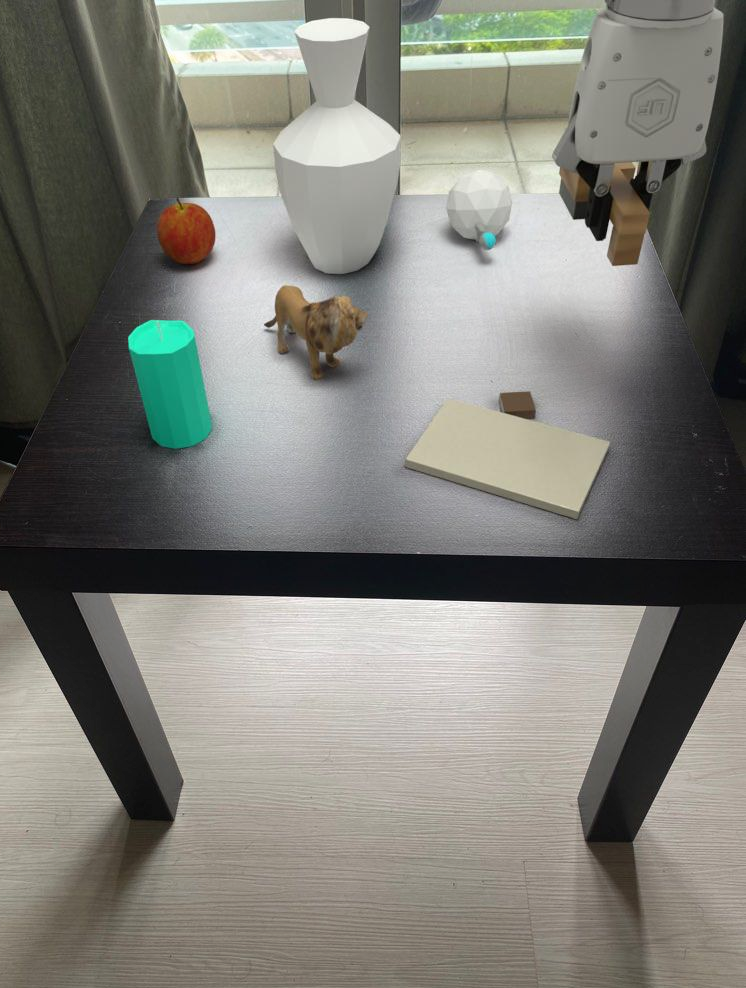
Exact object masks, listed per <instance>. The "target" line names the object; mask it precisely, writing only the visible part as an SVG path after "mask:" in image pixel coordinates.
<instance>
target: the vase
mask: <svg viewBox="0 0 746 988" xmlns="http://www.w3.org/2000/svg"><path fill="white" fill-rule="evenodd" d="M369 32H370V25H368V24H367V23H366V22H365V21H362V20H358V19H354V18H348V17H347V18H346V17H345V18H344V17H342V18H341V17H328V18H322V19H316V20H311V21H307V22H306V23H303V24H300V25H298V27H296V29H295V30H294V35H295V38H296V41H297V44H298V47H299V51H300V54H301V57H302V61H303V63H304V67H305V70H306V73H307V76H308V80H309V82H310V85H311V89H312V93H313V95H314V98H315V101H314V102H313V103H312V104H311V105H310V106H309V107H307V108H306V109H305V110H304V111H303V112H302V113H301V114H299V115H298V116H296V118H295V119H293V120H292V121H291V122H290V123H289V124H288V125H286V126H285V127H284V128H283V129H282V130H281V131H280V132H279V134H278V135H277V137H276V138H275V140H274V142H273V143H272V148H273V159H274V169H275V175H276V179H277V180H276V181H277V185H278V189H279V194H280V196H281V199H282V202H283V204H284V207H285V209H286V212H287V215H288V218H289V219H290V222H291V225H292V228H293V230H294V233H295V234H296V237H297V238H298V240H299V242H300V244H301V245H302V247H303V249H304V251H305V253H306V254H307V256H308V258H309V260H310V262H311V264H312V265H313V268H314V269H315V270H317V271H320V272H322V273H325V274H328V275H329V274H331V275H345V274H349V273H354V272H358V271H359V270H361V269H362V268H364V267H365V266H367V265H368V264H370V262H371V260H372V259H373V257H374V256H375V254H376V253H377V251H378V248H379V246H380V245H381V241H382V238H383V235H384V232H385V229H386V227H387V224H388V220H389V216H390V213H391V209H392V205H393V202H394V198H395V194H396V191H397V187H398V183H399V178H400V177H399V176H400V169H401V161H402V160H401V156H402V155H401V151H402V150H401V149H402V147H401V146H402V145H401V144H402V136H401V134H399V132H398V131H397V130H396V129H395V128H394V127H393V126H392V125H391V124H390V123H388V121H386V120H384V119H383V118H382V117H380V116H378V115H377V114H375V113H374V112H373V111H371V110H370V109H369V108H367V107H365V106H364V105H363V104H361V103H360V102H359V101H357V100H355V97H356V92H357V86H358V82H359V78H360V73H361V69H362V64H363V60H364V55H365V50H366V46H367V41H368V37H369Z"/></svg>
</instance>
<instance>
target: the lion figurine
mask: <svg viewBox="0 0 746 988" xmlns="http://www.w3.org/2000/svg"><path fill="white" fill-rule="evenodd" d="M274 313H275V316H274V317H273V318H272V319H271V320H268V321H267V322H265V323H263V326H264V327H266V328H267V329H270V328H272V327H274V326H275V325H276V324H277V352H278V353H280V354H285V353H287V352H289V350H290V349H289V346H288V344H287V342H286V337H285V336H286V334H285V329H286V330H287V331H288V333H291V334H293V333H295V334H296V335H297V336H298V337H299V338H300V339H301V340H302V341H305V344H306V349H307V353H308V359H309V364H310V376H311V378H312V379H313V380H320V379H322V378H323V377H324V373H323V369H322V366H321V364H320V353H324V354H325V363H326V365H328V366H329V367H331V368H337V367H339V365H340V364H341V362H340V359H339V358H338V357H337V358H336V357H334V354H336V353H338V352H339V351H341V350H342V349H343V348H346V347H348V346H349V347H350V345H351V344H353V343H354V341H355V339H356V337H357V335H358V332H361V331H362V330H363V326H364V325H365V324H366V322H367V317H368V313H367V312H366V311H364V310H361V309H358V308H357V307H356V306H355V304H352V300H351V297H349V296H345V295H339V296H336V295H334V296H333V297H332V296H331V297H330V298H327V299H324V300H321V301H318V302H314V301H313V302H311V303H310V302H309V301H308V300H307V299H306V298H305V297H304V294H303V292H302V290H301V289H300V288H299V287H298V286H294V285H286V284H283V285H282V286H281V287H280V288H279V289H278V290H277V293H276V294H275V300H274Z"/></svg>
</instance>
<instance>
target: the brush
mask: <svg viewBox="0 0 746 988" xmlns="http://www.w3.org/2000/svg"><path fill="white" fill-rule="evenodd" d="M558 174H559V176H560V182H559V183H560V184H559V190H558V194H559V196H560V198H561V200H562V202H563V203H564V205H565V207H566V209H567V211H568V213H569V215H570V216H571V219H572V220H574V221H577V220H585V213H586V207H587V202H588V196H589V191H590V187H589V186H588V184H587V183H586V182H585V181H584V180H583V179H582V178H581V176H580V175H579V174H577V173H575V172H571V171H568V170H566V169H564V168H561V167H559V172H558ZM635 174H636V166H635V164H634V162H629V163H615V166H614V170H613V175H612V179H611V184H610V186H611V189H610V193H611V194H612V196H613V201H612V206H611V211H610V216H609V219H610V220H609V222H610V223H611V224H612V229H611V234H610V239H609V242H608V243H609V244H608V249H607V253H606V257H607V260H608V261H609V263H610V264H611V266H612V267H619V266H634V265H638V264H639V260H640V256H641V251H642V247H643V242H644V238H645V235H646V233H647V230H648V224H649V220H650V215H651V213H650V210H649V211H648V209H647V208H646V206H645V205H644V204H643V202H642V201H641V199H640V198H639V196H638V195H637V193H636V192H635V190H634V189H633V187H632V186H631V184H630V183H629V182H630V181H631V179H635Z"/></svg>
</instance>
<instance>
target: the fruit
mask: <svg viewBox="0 0 746 988" xmlns="http://www.w3.org/2000/svg"><path fill="white" fill-rule="evenodd" d="M176 202H177V203H176V204H172V205H170V206H168V207H167V208H165V209H164V210H163V211H162V212H161V214H160V216H159V218H158V221H157V226H156V227H157V228H156V231H157V232H156V233H157V240H158V243H159V246H160V248H161V249H162V251H163V252H164V254H166V255H167V257H169V258H170V259H172V260H173V261H174V262H176V263H178V264H182V265H193V264H194V265H195V264H198V263H200V262H201V261H203V260H204V259H205V258H206V257H208V255H210V253H211V252H212V250H213V249H214V246H215V243H216V227H215V224H214V222H213V221H214V220H213V219H212V217H211V215H210V214H209V212H208V211H207V210H206V209H205V208H204V207H202V206H201V205H199V204H197V203H193V202H192V203H191V202H181V200H180V199H179V197H176Z"/></svg>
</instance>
